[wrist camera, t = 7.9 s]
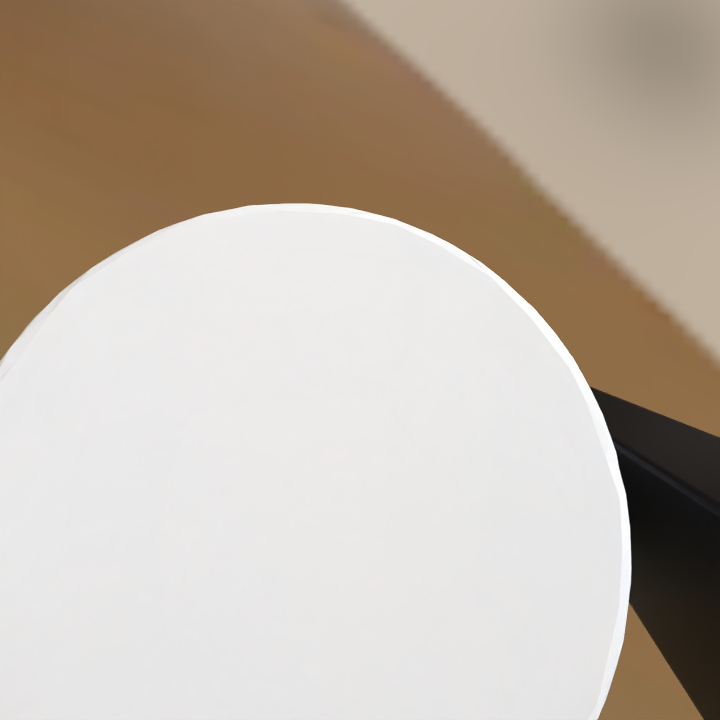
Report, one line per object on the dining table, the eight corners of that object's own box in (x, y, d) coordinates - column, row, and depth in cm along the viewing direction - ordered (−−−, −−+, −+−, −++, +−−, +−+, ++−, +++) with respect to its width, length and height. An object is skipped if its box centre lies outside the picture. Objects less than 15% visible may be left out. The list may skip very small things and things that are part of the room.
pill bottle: (392, 685, 14) (528, 1528, 3) (175, 554, 15) (-467, 753, 3) (502, 454, 15) (911, 333, 4) (298, 345, 16) (146, -20, 5)
